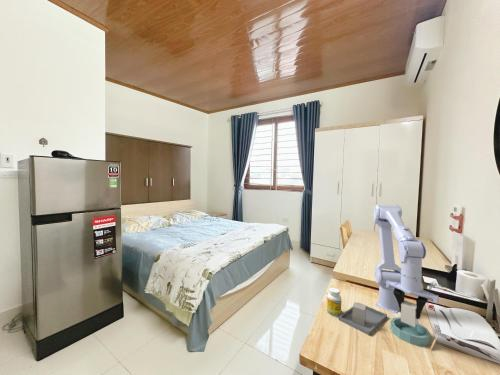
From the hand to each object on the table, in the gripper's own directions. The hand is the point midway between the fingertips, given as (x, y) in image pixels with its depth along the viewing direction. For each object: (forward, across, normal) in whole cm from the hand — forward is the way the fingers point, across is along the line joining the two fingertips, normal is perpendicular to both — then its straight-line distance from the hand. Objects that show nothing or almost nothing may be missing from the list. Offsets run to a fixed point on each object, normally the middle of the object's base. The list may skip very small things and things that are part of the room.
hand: (409, 314), depth 74 cm
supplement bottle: (+8, -23, -9) cm, 26 cm away
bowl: (+7, 0, 0) cm, 7 cm away
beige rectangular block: (+2, 0, 0) cm, 2 cm away
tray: (+7, -14, -4) cm, 16 cm away
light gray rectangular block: (+7, -14, -7) cm, 17 cm away
